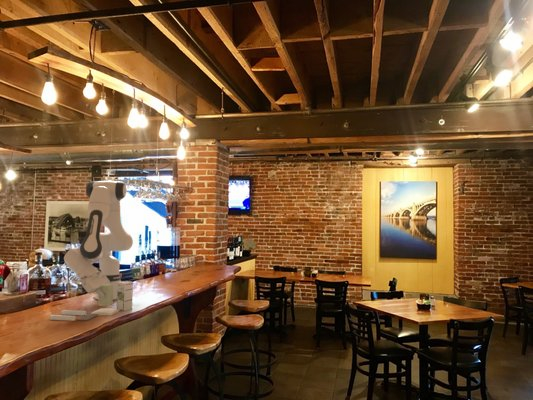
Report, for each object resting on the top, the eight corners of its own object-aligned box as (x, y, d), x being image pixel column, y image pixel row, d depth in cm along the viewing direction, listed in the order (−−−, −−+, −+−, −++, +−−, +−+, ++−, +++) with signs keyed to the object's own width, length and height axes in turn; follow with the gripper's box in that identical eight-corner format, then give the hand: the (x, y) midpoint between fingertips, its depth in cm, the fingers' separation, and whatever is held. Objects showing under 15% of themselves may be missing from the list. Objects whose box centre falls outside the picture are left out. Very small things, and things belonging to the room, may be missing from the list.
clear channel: (63, 314, 196) (63, 310, 196) (98, 315, 195) (98, 311, 195) (50, 319, 185) (50, 315, 185) (87, 321, 184) (87, 316, 184)
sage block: (102, 303, 203) (103, 283, 204) (112, 303, 203) (113, 284, 203) (98, 305, 198) (99, 285, 199) (107, 305, 198) (108, 285, 198)
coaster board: (100, 310, 206) (100, 308, 206) (119, 311, 205) (119, 309, 205) (91, 314, 196) (91, 312, 196) (110, 315, 195) (110, 313, 195)
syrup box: (132, 309, 210) (133, 281, 211) (123, 311, 205) (124, 283, 206) (125, 307, 213) (126, 280, 214) (116, 309, 208) (117, 281, 209)
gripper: (83, 273, 191) (102, 294, 190) (102, 268, 212) (119, 287, 211) (73, 282, 191) (93, 303, 190) (93, 276, 211) (110, 295, 211)
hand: (107, 295), depth 201 cm, fingers closed on sage block, 5 cm apart
